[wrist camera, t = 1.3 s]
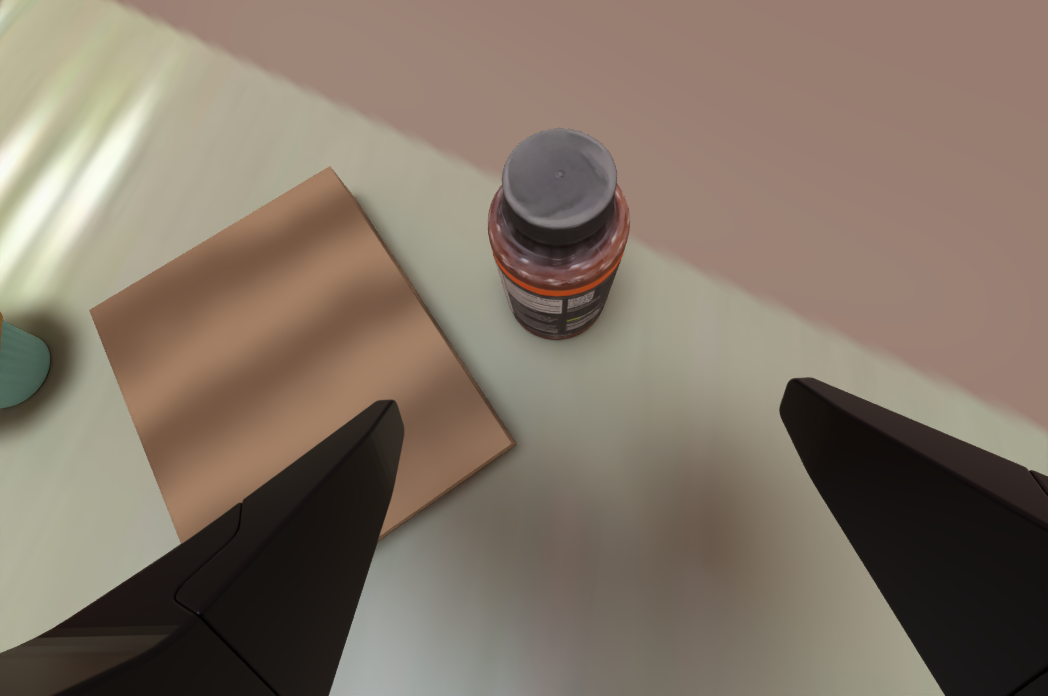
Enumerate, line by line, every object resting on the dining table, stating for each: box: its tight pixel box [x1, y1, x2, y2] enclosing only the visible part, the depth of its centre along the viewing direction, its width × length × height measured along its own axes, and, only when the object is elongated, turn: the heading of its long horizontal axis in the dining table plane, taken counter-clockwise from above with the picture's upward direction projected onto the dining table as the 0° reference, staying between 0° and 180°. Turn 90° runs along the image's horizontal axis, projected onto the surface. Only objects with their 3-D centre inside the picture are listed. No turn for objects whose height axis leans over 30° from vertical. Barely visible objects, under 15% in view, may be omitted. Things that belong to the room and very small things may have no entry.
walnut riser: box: [89, 166, 516, 544], centre depth 22 cm, size 20×16×3 cm
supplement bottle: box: [488, 128, 630, 339], centre depth 19 cm, size 6×6×11 cm
